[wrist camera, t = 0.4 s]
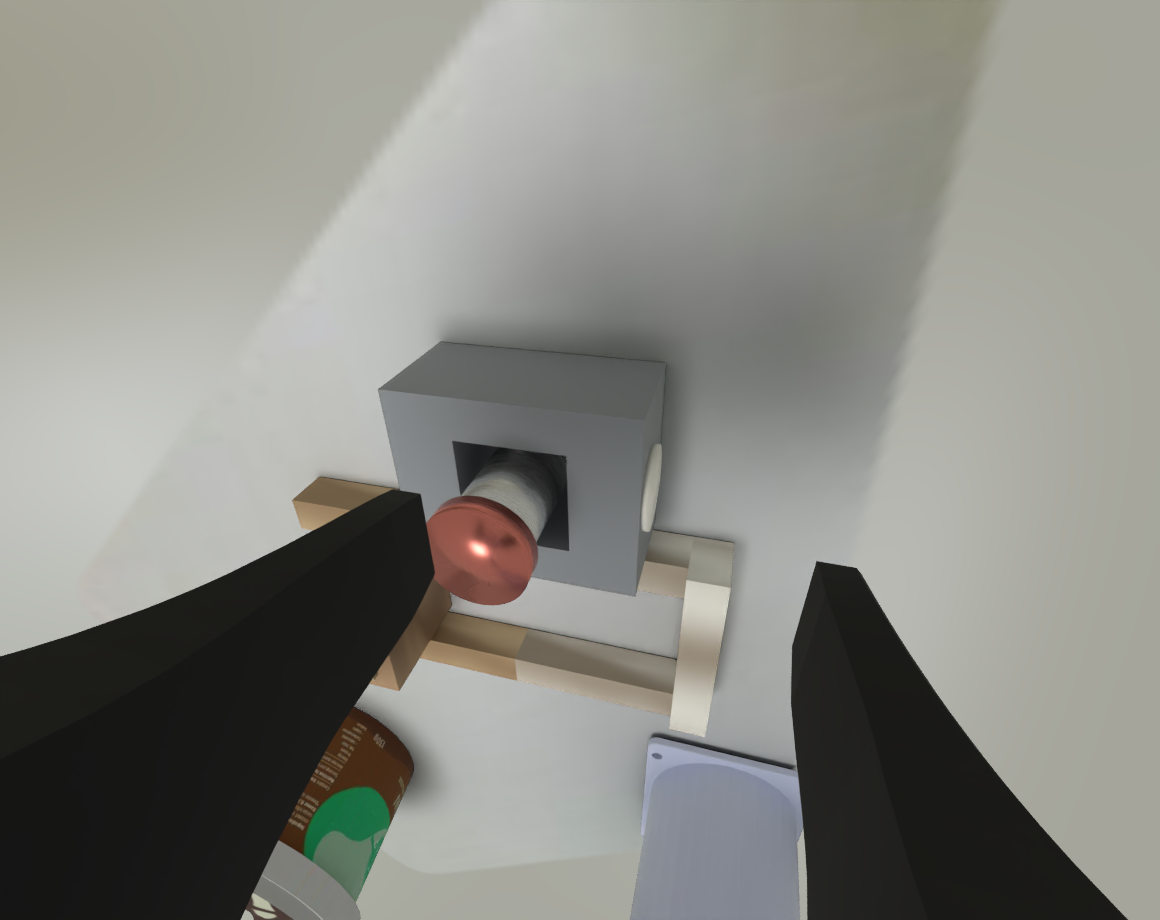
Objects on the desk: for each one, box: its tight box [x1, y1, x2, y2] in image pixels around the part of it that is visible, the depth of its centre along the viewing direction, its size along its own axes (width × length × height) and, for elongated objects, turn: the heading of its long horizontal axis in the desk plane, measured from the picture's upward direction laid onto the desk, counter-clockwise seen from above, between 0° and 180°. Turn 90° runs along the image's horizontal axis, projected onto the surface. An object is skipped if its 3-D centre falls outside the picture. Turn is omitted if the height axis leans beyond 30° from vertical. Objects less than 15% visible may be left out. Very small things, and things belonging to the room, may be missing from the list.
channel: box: [292, 477, 734, 737], centre depth 25 cm, size 9×18×2 cm, turn 91°
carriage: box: [369, 578, 452, 691], centre depth 25 cm, size 5×4×5 cm
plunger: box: [426, 447, 567, 605], centre depth 18 cm, size 3×3×5 cm
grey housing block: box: [378, 342, 666, 596], centre depth 20 cm, size 6×8×4 cm
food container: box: [246, 707, 414, 920], centre depth 34 cm, size 12×6×10 cm, turn 166°
